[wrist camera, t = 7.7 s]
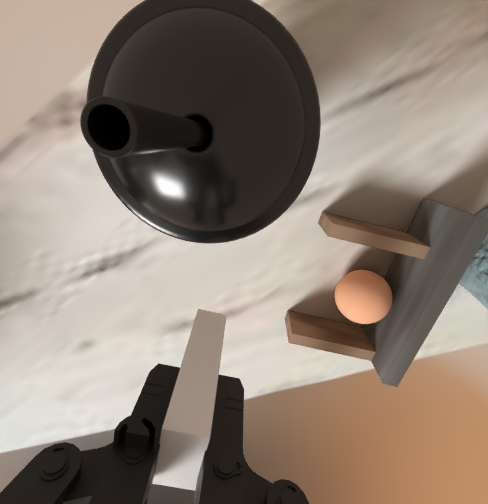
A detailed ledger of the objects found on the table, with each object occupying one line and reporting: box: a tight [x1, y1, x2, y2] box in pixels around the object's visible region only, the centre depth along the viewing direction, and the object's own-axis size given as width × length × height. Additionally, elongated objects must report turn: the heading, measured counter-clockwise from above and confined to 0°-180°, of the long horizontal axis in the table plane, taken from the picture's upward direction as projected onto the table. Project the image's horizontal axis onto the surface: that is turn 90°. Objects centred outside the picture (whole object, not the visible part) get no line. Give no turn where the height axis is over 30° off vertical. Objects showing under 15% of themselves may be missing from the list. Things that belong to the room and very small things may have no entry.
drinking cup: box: [80, 0, 321, 243], centre depth 13 cm, size 8×8×20 cm
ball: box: [335, 270, 392, 324], centre depth 24 cm, size 4×4×4 cm
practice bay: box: [285, 198, 488, 387], centre depth 23 cm, size 9×14×6 cm, turn 167°
